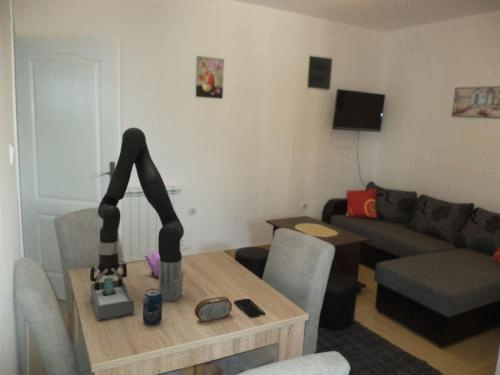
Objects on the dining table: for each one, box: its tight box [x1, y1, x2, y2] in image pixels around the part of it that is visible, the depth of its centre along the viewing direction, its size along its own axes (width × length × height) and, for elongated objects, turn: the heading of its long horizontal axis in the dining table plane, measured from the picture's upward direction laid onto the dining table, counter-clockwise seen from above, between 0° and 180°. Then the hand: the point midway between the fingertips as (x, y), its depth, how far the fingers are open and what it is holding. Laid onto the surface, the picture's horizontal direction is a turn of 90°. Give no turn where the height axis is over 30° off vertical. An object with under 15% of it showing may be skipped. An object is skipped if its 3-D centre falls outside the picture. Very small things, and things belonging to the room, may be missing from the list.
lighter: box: [107, 257, 124, 277], centre depth 184 cm, size 7×2×8 cm, turn 120°
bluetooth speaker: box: [194, 296, 233, 322], centre depth 148 cm, size 15×3×8 cm, turn 119°
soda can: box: [142, 288, 163, 327], centre depth 142 cm, size 7×7×12 cm
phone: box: [233, 298, 266, 319], centre depth 158 cm, size 8×1×15 cm
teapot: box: [142, 250, 160, 279], centre depth 187 cm, size 20×10×12 cm, turn 118°
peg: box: [103, 277, 114, 296], centre depth 158 cm, size 4×4×8 cm
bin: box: [90, 278, 135, 322], centre depth 153 cm, size 13×22×6 cm, turn 29°
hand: (108, 288), depth 158 cm, fingers open, 8 cm apart
